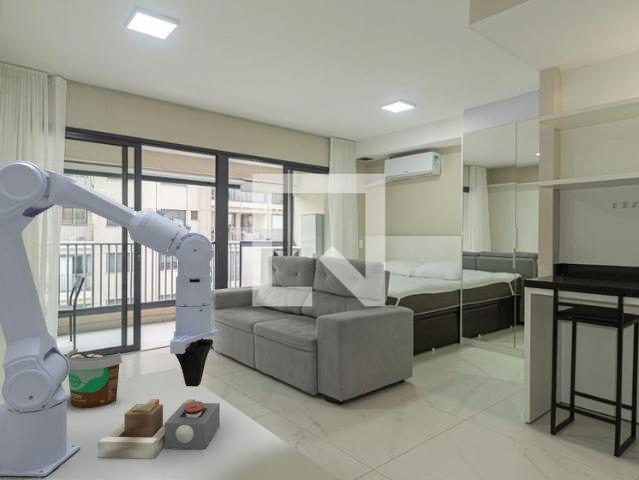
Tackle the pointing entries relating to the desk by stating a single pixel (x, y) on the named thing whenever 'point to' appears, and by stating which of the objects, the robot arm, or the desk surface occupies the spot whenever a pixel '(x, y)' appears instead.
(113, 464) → the desk surface
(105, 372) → the food container
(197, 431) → the grey housing block
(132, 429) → the block
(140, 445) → the channel
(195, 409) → the plunger
